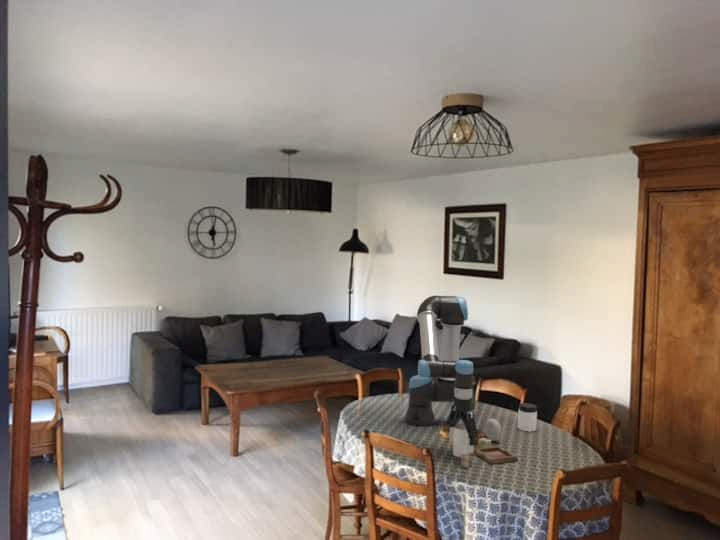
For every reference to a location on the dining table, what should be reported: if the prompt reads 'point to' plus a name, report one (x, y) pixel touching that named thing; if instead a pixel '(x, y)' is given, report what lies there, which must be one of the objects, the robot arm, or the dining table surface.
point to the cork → (465, 460)
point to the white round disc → (488, 429)
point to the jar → (527, 417)
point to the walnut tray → (495, 455)
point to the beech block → (484, 443)
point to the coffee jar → (473, 393)
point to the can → (460, 441)
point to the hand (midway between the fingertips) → (461, 447)
